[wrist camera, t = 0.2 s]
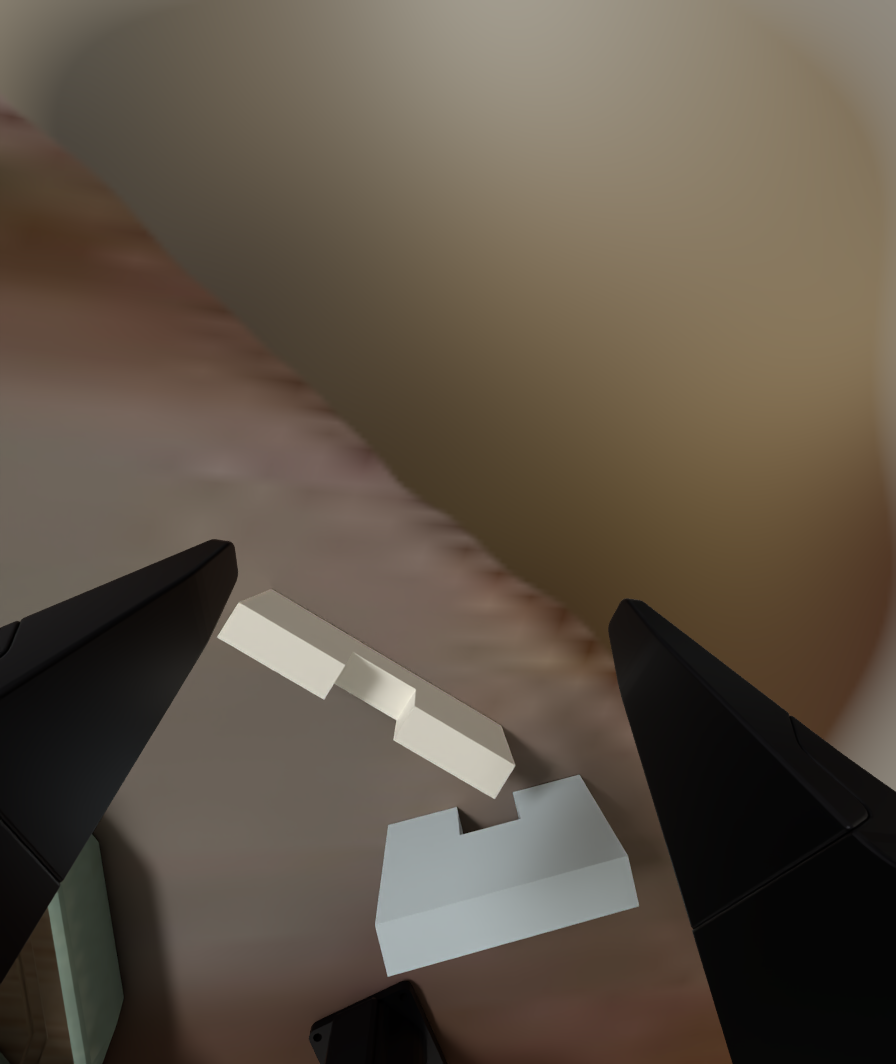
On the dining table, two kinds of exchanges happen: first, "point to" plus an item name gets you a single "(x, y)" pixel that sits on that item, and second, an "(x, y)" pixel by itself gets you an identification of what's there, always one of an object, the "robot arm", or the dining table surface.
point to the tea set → (65, 976)
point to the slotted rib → (372, 687)
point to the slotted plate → (498, 877)
